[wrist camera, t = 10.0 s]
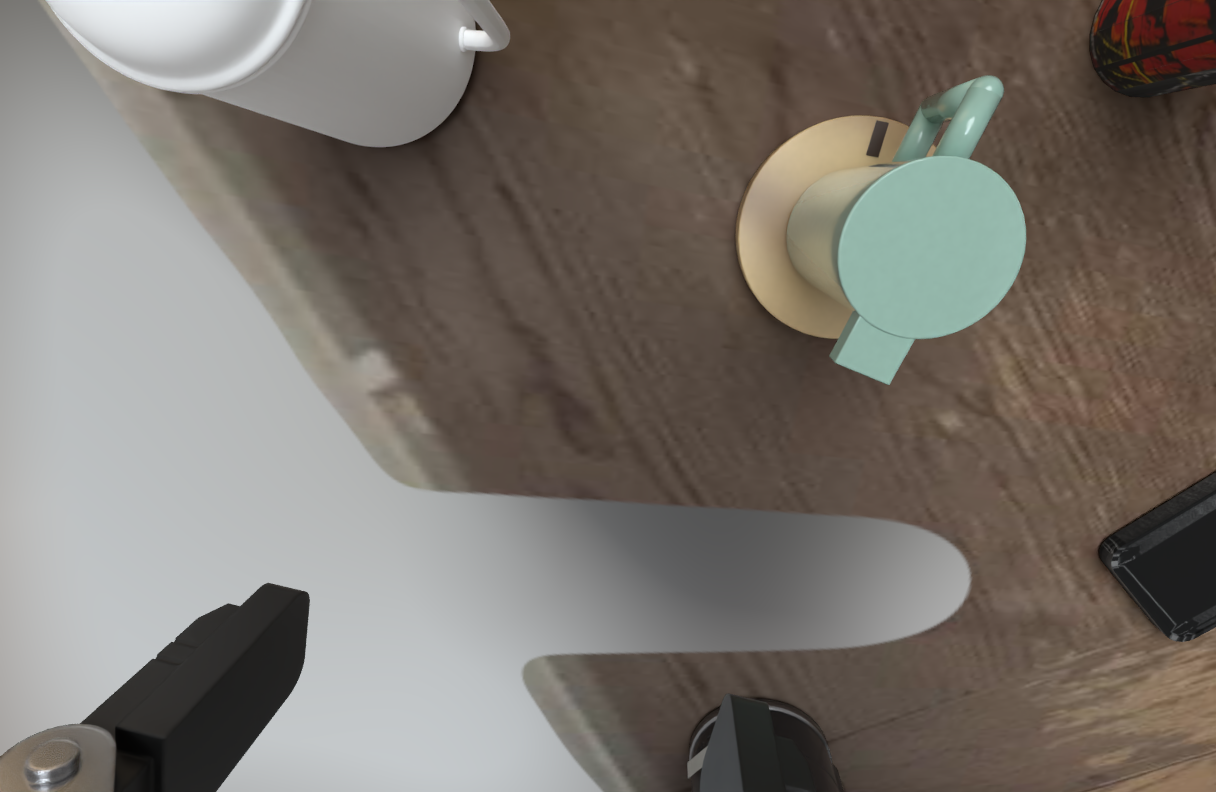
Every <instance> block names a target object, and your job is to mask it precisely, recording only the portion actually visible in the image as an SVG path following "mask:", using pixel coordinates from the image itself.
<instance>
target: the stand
mask: <svg viewBox="0 0 1216 792" xmlns="http://www.w3.org/2000/svg"><path fill="white" fill-rule="evenodd" d="M908 128H909V126H907V125H904V124H902V123H900V122H898V121H894V120H891V119H887V118H884V117H876V116H869V115H853V116H846V117H839V118H835V119H831V120H827V121H824V122H821V123H819V124H816V125H814V126H812V127H809V128H807V129H805V130H803V131H801V132H799V133H798V134H796V135H794V136H793V137H791V138H789V139H788V140H787V141H785V142H784V143H783V144H781V145H780V146H779V147H777V148H776V149H775V150H774V151H773V152H772V153H771V154H770V155H769V156H768V157H767V158H766V159H765V161H764V162H763V163H762V164H761V166H760V167H759V168H758V169H757V171H756V172H755V174H754V176H753V177H752V179H751V180H750V182H749V184H748V186H747V189H746V191H745V193H744V195H743V198H742V201H741V204H740V207H739V211H738V216H737V222H736V235H735V239H736V252H737V256H738V261H739V265H740V268H741V271H742V274H743V277H744V278H745V280H746V282H747V284H748V286H749V288H750V290H751V291H752V292H753V294H754V295H755V297H756V298H757V299H758V301H759V302H760V303H761V304H762V305H763V306H764V307H765V308H766V310H767V311H768V312H769V313H771V314H772V315H773V316H774V317H775V318H777V319H778V320H779V321H781V322H782V323H784V324H786V325H787V326H789V327H791V328H793V329H795V330H798V331H800V332H802V333H805V334H809V335H812V336H816V337H822V338H829V339H839V337H840V335H841V333H842V331H843V329H844V327H845V325H846V323H847V321H848V320H849V318H850V316H851V314H852V312H851V311H850V310H848V309H847V308H845V307H844V306H842V305H841V304H839V303H838V302H836V301H835V300H833V299H832V298H830V297H829V296H827V295H826V294H824V293H823V292H821V291H819V290H818V289H816V288H815V287H813V286H812V285H811V284H809V283H808V282H807V281H805V280H804V279H803V278H802V277H801V276H800V274H799V273H798V272H797V271H796V269H795V267H794V266H793V264H792V261H791V259H790V256H789V253H788V249H787V226H788V222H789V218H790V215H791V213H792V210H793V208H794V206H795V204H796V203H797V201H798V200H799V198H800V197H801V195H802V194H803V193H804V192H805V191H806V190H807V189H808V188H809V187H810V186H811V185H812V184H813V183H814V182H816V181H817V180H819V179H820V178H822V177H823V176H825V175H827V174H829V173H832V172H835V171H838V170H842V169H846V168H853V167H860V166H867V165H874V164H881V163H887V162H892V160H893V158H894V156H895V154H896V152H897V150H898V148H899V146H900V144H901V142H902V140H903V138H904V136H905V134H906V132H907V130H908ZM935 150H936V146H935V145H934V144H932V146H931V148H930V150H929V152H928V153H927V155H926V157H929V156H933V154H934V152H935Z"/></svg>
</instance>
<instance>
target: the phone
mask: <svg viewBox="0 0 1216 792" xmlns="http://www.w3.org/2000/svg"><path fill="white" fill-rule="evenodd" d="M1099 552H1100V558H1101V560H1102V562H1103V563H1104V564H1105V565H1106V567H1107V568H1108V569H1109V570H1110V572H1111V573H1112V574H1113V575H1114V576H1115V578H1116V579H1117V580H1118V581H1119V583H1120V584H1121V585H1122V586H1123V588H1124V589H1125V590H1126V591H1127V593H1128V594H1129V595H1130V596H1131V597H1132V599H1133V600H1134V601H1135V602H1136V604H1137V605H1138V606H1139V607H1140V609H1141V610H1142V611H1143V612H1144V614H1145V615H1146V616H1147V617H1148V618H1149V620H1150V621H1151V622H1152V623H1153V624H1154V625H1155V626H1156V627H1157V628H1158V629H1159V630H1160V631H1161V632H1163V633H1164V634H1165V635H1166V636H1167V637H1168V638H1169V639H1171V640H1174V641H1180V642H1184V641H1190V640H1192V639H1195V638H1197V637H1199V636H1200V635H1202V634H1204V633H1206V632H1208V631H1210V630H1211V629H1213V628H1215V627H1216V473H1214V474H1212V475H1211V476H1209V477H1207V478H1206V479H1204V480H1202V481H1201V482H1199V483H1197V484H1196V485H1194V486H1192V487H1191V488H1189V489H1188V490H1186V491H1184V492H1183V493H1181V494H1179V495H1178V496H1176V497H1174V498H1173V499H1171V500H1169V501H1168V502H1166V503H1164V504H1163V505H1161V506H1159V507H1158V508H1156V509H1155V510H1153V511H1151V512H1150V513H1148V514H1146V515H1145V516H1143V517H1141V518H1140V519H1138V520H1136V521H1135V522H1133V523H1131V524H1130V525H1128V526H1127V527H1125V528H1123V529H1122V530H1120V531H1118V532H1117V533H1115V534H1113V535H1112V536H1110V537H1109V538H1108V539H1106V540H1105V541H1104V542H1103V544H1102V545H1101V548H1100V551H1099Z"/></svg>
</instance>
